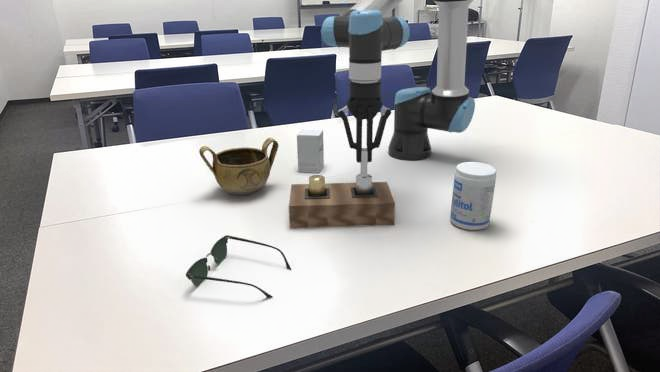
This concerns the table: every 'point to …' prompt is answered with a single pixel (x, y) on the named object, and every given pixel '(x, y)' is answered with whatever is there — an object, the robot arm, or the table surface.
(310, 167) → the supplement box
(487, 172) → the supplement tub
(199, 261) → the sunglasses
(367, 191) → the steel peg
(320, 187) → the brass peg
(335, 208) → the walnut block
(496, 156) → the table surface
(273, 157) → the ceramic bowl
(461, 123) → the robot arm
